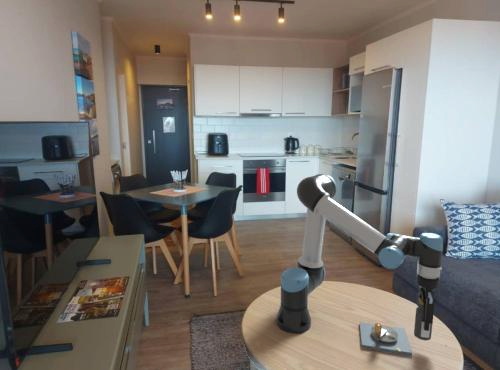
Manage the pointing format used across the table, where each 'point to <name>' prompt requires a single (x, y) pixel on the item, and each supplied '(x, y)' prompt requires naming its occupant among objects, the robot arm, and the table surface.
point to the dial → (384, 333)
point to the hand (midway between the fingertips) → (422, 331)
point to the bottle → (418, 321)
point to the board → (397, 348)
